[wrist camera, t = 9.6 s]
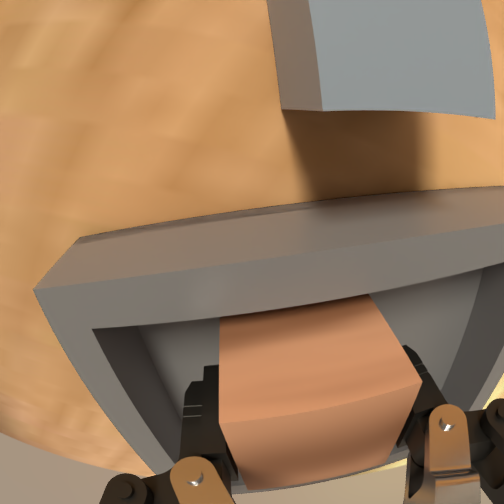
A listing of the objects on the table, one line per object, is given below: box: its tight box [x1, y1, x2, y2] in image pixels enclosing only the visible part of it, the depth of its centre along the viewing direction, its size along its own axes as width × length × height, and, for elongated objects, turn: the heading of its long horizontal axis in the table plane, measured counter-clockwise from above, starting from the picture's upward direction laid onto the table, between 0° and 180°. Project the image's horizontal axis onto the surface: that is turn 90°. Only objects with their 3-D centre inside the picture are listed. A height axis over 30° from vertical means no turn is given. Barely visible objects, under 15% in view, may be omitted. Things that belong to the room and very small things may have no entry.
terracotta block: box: [219, 294, 423, 491], centre depth 10 cm, size 5×5×5 cm
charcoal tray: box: [33, 186, 504, 494], centre depth 13 cm, size 16×20×4 cm
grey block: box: [267, 0, 495, 119], centre depth 7 cm, size 5×5×5 cm
